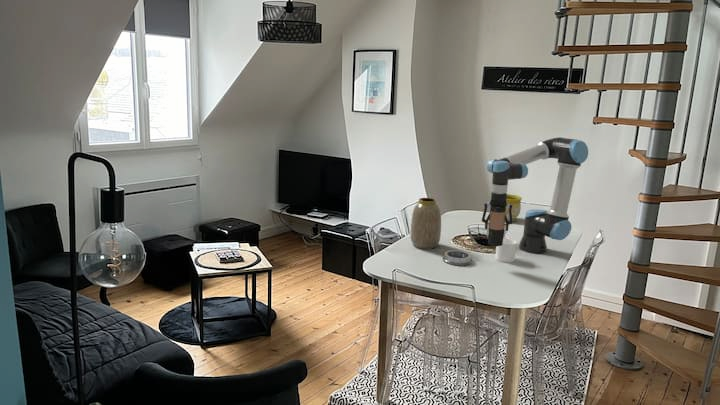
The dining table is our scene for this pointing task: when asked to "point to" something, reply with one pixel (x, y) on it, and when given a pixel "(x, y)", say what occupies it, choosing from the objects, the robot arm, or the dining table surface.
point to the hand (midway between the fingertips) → (495, 236)
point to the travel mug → (496, 226)
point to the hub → (457, 258)
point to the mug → (506, 251)
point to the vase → (426, 224)
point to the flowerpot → (513, 206)
